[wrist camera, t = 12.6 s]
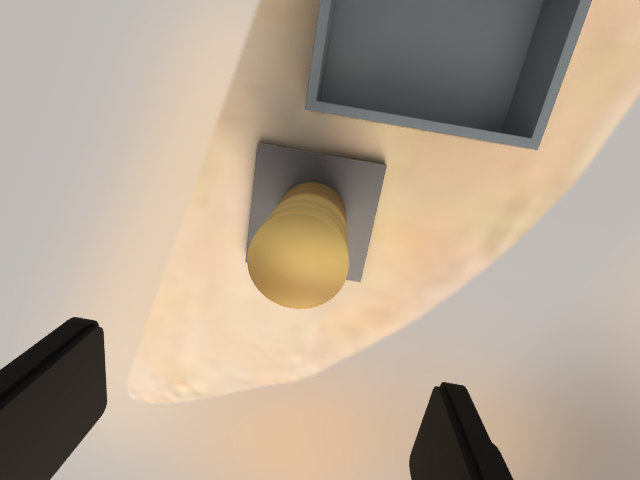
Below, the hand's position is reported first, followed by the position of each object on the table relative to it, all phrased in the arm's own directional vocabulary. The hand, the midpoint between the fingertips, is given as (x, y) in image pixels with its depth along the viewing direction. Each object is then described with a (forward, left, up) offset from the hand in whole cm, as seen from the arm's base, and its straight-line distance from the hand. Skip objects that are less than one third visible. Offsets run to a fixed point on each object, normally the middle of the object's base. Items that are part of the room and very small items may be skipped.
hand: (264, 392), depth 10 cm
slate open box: (-13, +6, -20) cm, 25 cm away
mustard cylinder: (0, 0, -20) cm, 20 cm away
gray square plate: (0, 0, -20) cm, 20 cm away
